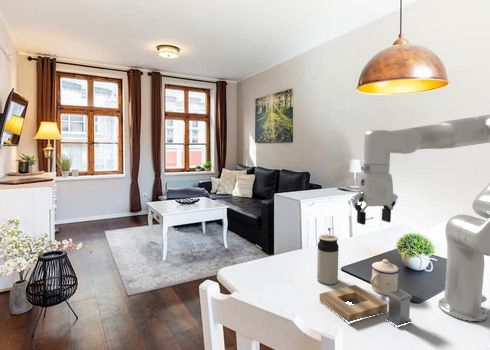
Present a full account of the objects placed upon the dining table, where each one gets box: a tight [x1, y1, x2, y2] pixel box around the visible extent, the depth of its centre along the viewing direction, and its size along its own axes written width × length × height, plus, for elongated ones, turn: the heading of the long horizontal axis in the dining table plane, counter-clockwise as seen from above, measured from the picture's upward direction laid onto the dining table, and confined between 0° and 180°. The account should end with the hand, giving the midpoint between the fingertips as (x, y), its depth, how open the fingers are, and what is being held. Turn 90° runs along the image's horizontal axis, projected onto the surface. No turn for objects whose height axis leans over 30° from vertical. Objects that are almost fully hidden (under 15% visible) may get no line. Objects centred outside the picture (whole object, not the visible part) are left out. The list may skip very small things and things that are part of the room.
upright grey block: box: [385, 289, 413, 326], centre depth 88 cm, size 6×4×9 cm, turn 113°
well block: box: [319, 284, 388, 322], centre depth 96 cm, size 16×14×3 cm
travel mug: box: [316, 233, 339, 285], centre depth 115 cm, size 8×8×18 cm
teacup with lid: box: [370, 258, 400, 296], centre depth 106 cm, size 12×9×12 cm
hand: (373, 222), depth 93 cm, fingers open, 9 cm apart
